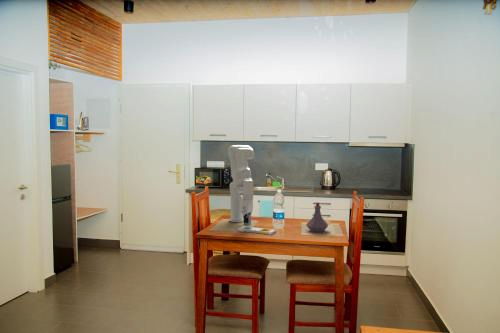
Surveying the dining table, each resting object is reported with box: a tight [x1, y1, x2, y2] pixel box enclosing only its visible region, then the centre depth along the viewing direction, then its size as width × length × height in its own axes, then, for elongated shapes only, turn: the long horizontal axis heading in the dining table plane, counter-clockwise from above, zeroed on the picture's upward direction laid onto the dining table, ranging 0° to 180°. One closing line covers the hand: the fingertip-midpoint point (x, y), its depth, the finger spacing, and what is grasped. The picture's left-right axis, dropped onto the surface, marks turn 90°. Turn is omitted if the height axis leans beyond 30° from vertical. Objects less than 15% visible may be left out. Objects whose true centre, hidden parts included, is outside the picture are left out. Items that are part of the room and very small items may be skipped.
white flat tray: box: [236, 225, 277, 236], centre depth 278 cm, size 9×26×2 cm, turn 64°
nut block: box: [242, 213, 252, 227], centre depth 282 cm, size 4×4×8 cm
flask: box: [305, 202, 329, 233], centre depth 282 cm, size 16×16×20 cm
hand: (247, 221), depth 282 cm, fingers closed on nut block, 4 cm apart
